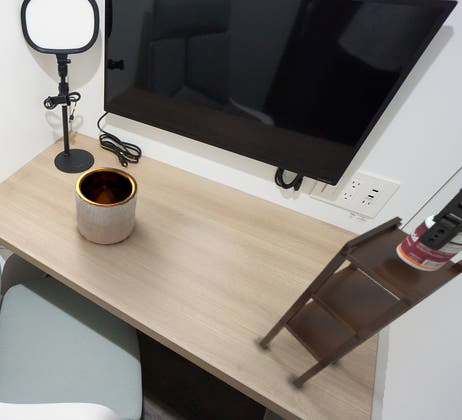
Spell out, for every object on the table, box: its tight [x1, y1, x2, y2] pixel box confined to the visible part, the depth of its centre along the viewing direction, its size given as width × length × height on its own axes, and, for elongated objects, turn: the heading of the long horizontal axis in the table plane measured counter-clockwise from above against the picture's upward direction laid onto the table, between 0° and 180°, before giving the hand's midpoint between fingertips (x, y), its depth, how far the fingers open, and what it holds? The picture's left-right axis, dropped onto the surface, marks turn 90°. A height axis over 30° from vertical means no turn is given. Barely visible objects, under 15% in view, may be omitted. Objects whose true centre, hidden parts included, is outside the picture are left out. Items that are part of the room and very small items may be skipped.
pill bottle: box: [397, 206, 462, 271], centre depth 41 cm, size 5×5×8 cm
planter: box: [74, 166, 139, 245], centre depth 92 cm, size 18×18×16 cm
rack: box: [258, 215, 462, 389], centre depth 57 cm, size 10×12×36 cm
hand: (440, 237), depth 41 cm, fingers closed on pill bottle, 4 cm apart
